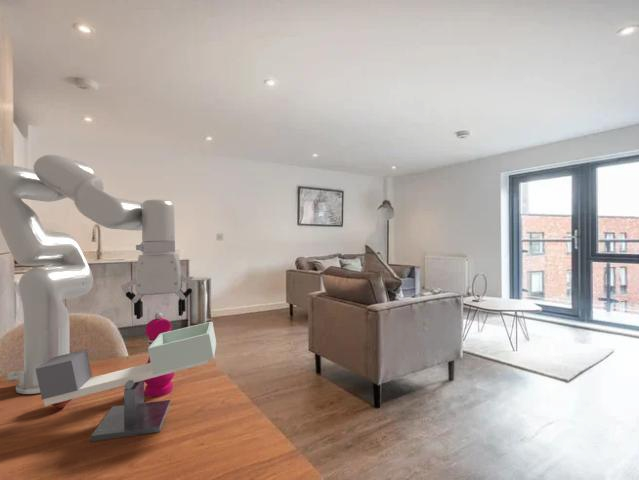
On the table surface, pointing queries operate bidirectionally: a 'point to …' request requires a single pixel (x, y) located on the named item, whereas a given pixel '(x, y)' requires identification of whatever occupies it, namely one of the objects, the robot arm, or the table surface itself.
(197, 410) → the table surface
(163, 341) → the beam
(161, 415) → the stand
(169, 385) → the pepper mill
